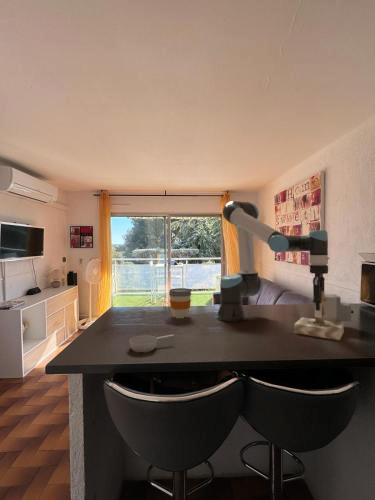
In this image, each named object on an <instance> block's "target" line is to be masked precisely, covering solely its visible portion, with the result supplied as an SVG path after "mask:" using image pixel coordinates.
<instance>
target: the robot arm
mask: <svg viewBox="0 0 375 500" xmlns="http://www.w3.org/2000/svg"><path fill="white" fill-rule="evenodd" d="M222 216H223V219H225V221H226V222H228V223H230V224H232V225H234V228H236V229H237V241H238V259H239V270H238V272H237V273H236V274H235V273H233V274H227V275H223V276H222V277H221V278H220V283H219V287H220V288H219V289H220V291H219V292H220V293H219V294H220V305H219V309H218V310H217V311H218V312H217V320H219V321H223V322H231V323H234V322H235V323H236V322H237V323H238V322H243V321H245V320H246V318H247V317H246V312H245V309H244V306H243V298H248V297H254V296H257V295H259V294H260V293H261V292H262V290H263V286H264V282H263V280H262V278H261V276H260V275H259V272H258V271H257V270H256V261H255V246H254V245H255V244H254V237H256V238H258V239H259V240H261V241H262V242H263V243H266V245H268V247H269V248H270V250H271V251H272V252H274V253H286V252H287V253H288V252H290V253H291V252H294V253H295V252H309V273H310V274H314V277H313V279H312V285H313V286H312V287H313V288H312V289H313V291H312V293H313V300H312V303H315V304H314V312H315V314H314V318H315V317H317V318H322V303H321V291H324V292H325V281H326V279H325V277H324V274H325V275H326V274H328V273H329V265H328V264H329V260H330V257H329V256H328V255H329V253H328V250H329V247H328V246H329V243H328V242H329V239H328V237H329V236H328V235H329V234H328V232H327V230H324V229H319V230H318V229H317V230H316V229H315V230H310V231H309V233H308V234H306V235H287V234H286V235H285V234H283V233H282V232H280V231H278V230H276V229H275V228H273V227H271V226H269V225H267V224H266V223H264V222H262V221H260V220H259V216H260V215H259V209H258V207H257V206H256V205H255V204H254V203H251V202H249V201H246V202H245V201H240V200H239V201H238V200H231V201H228V202H227V203H225V204H224V206H223V208H222ZM324 298H325V297H324ZM325 300H326V299H324V301H325Z"/></svg>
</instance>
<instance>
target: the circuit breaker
mask: <svg viewBox="0 0 375 500" xmlns="http://www.w3.org/2000/svg"><path fill="white" fill-rule="evenodd" d="M324 297H325V298H324V299H326V300H325V301H324V313H325V314H324V320H326V321H333V322H341V323H342V322H348V323H349V322H350V323H351V322H352V314H354V310H352V305H350V303H349V304H348V303H347V302H343V301H341V297H340V296H339V295H337V294H332V293H331V294H330V293H329V294H325V293H324Z"/></svg>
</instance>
